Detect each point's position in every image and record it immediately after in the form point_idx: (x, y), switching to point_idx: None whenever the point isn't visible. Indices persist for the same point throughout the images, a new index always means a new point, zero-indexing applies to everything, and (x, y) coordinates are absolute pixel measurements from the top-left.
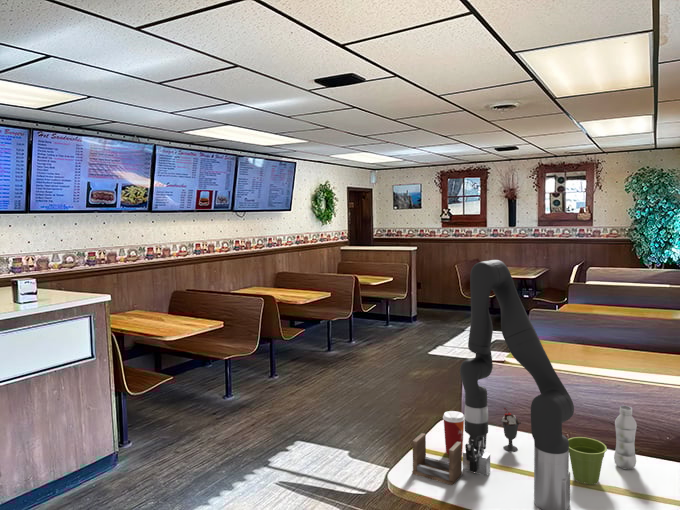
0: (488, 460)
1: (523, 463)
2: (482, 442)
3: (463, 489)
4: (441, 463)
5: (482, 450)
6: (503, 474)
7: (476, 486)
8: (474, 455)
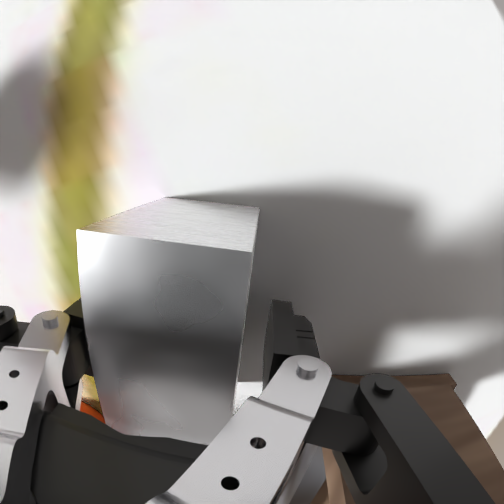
0: (177, 224)
1: (9, 49)
2: (21, 446)
3: (479, 314)
4: (316, 491)
5: (62, 342)
6: (175, 87)
7: (441, 251)
8: (399, 435)
